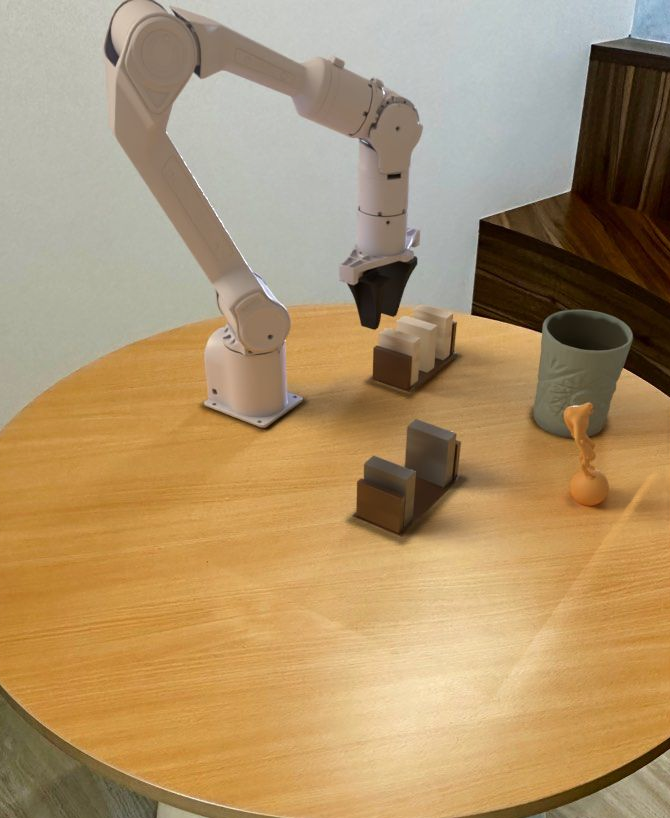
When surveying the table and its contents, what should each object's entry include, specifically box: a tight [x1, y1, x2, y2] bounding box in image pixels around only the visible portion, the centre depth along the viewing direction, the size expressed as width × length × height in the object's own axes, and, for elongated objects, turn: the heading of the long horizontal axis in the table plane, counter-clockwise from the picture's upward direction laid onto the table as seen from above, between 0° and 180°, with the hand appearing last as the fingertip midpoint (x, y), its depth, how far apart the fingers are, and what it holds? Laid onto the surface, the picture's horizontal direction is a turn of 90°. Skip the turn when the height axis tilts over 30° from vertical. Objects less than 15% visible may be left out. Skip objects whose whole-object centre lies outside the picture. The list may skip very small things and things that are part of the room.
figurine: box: [564, 403, 610, 507], centre depth 91 cm, size 8×6×12 cm
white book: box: [395, 314, 437, 373], centre depth 114 cm, size 5×2×6 cm, turn 57°
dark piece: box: [368, 303, 458, 393], centre depth 114 cm, size 6×13×7 cm, turn 147°
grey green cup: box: [533, 309, 634, 439], centre depth 103 cm, size 10×10×12 cm
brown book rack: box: [351, 418, 462, 538], centre depth 92 cm, size 6×13×7 cm, turn 147°
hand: (379, 320), depth 108 cm, fingers open, 4 cm apart
